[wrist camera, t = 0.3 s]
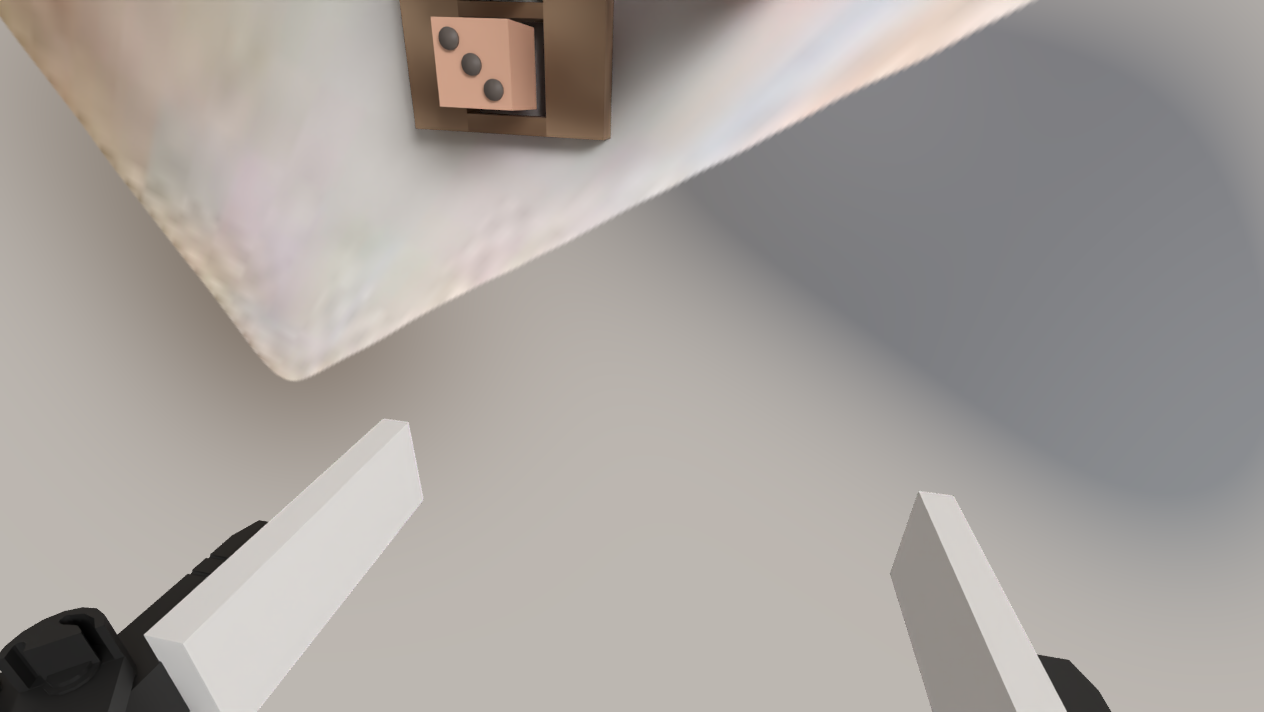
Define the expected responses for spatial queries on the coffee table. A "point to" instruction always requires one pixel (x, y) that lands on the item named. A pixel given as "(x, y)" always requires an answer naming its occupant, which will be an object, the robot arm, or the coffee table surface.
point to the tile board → (571, 67)
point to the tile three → (484, 63)
